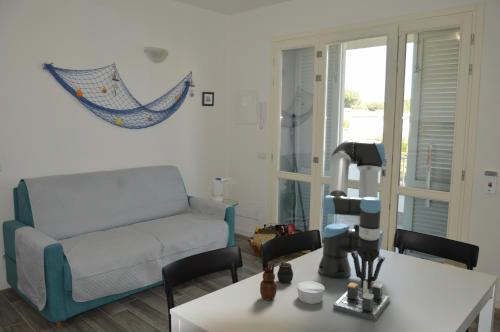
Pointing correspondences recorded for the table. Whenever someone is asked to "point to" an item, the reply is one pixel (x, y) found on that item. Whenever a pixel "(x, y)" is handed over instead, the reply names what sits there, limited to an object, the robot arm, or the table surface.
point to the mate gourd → (285, 272)
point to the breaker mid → (352, 290)
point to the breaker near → (367, 301)
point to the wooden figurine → (268, 284)
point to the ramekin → (310, 292)
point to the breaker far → (377, 290)
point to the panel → (356, 309)
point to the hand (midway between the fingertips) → (365, 296)
